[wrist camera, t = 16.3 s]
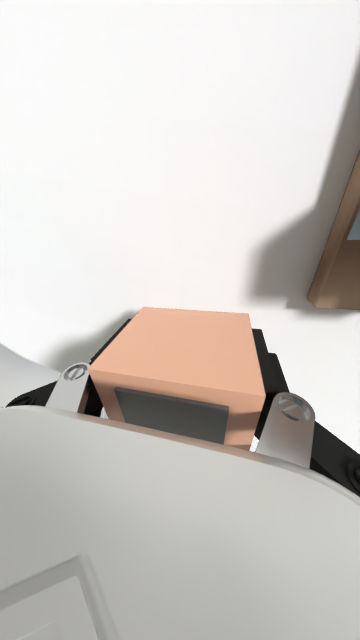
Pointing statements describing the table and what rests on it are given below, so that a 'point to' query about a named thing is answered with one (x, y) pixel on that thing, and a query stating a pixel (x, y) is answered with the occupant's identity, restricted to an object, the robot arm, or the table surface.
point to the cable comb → (341, 255)
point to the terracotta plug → (184, 375)
